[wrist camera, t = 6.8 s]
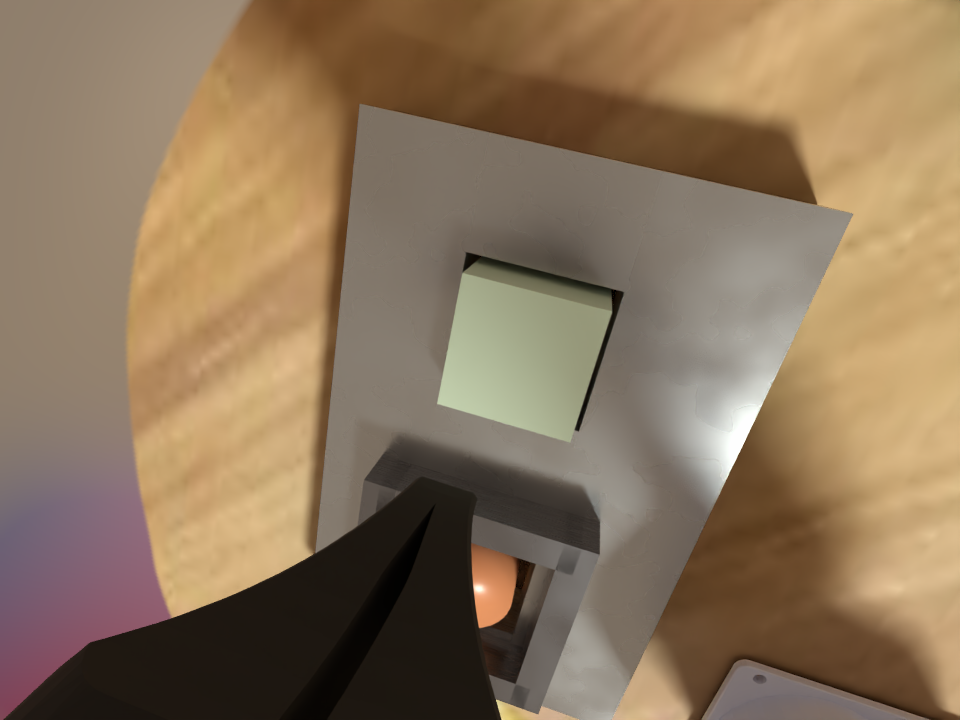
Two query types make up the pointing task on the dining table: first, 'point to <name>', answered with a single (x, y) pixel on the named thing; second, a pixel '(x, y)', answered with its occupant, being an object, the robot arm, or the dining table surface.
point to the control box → (612, 388)
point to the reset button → (493, 583)
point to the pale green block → (524, 346)
